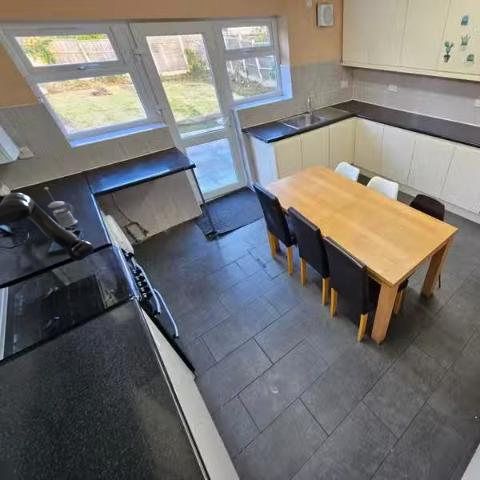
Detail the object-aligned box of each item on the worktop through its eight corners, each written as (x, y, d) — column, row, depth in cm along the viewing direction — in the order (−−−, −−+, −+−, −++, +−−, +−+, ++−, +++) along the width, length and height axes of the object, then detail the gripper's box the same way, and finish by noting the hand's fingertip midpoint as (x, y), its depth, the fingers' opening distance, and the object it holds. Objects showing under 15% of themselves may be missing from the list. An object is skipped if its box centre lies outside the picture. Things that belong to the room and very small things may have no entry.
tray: (79, 248, 155) (76, 245, 153) (50, 256, 150) (47, 252, 149) (84, 232, 167) (82, 229, 166) (58, 238, 163) (55, 235, 161)
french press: (54, 226, 172) (30, 189, 158) (73, 217, 181) (52, 182, 167) (65, 228, 169) (41, 191, 155) (84, 219, 178) (63, 184, 164)
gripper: (79, 227, 148) (66, 217, 156) (48, 241, 139) (36, 230, 147) (86, 238, 153) (74, 228, 161) (57, 251, 144) (45, 240, 152)
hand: (56, 229), depth 154 cm, fingers closed on brush, 2 cm apart
